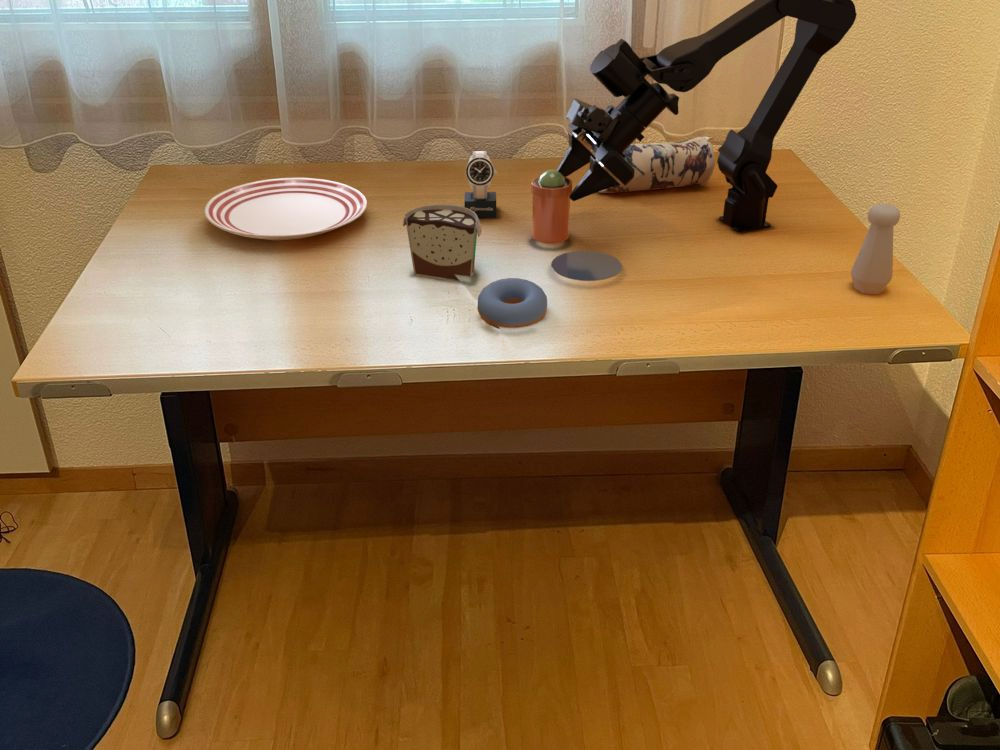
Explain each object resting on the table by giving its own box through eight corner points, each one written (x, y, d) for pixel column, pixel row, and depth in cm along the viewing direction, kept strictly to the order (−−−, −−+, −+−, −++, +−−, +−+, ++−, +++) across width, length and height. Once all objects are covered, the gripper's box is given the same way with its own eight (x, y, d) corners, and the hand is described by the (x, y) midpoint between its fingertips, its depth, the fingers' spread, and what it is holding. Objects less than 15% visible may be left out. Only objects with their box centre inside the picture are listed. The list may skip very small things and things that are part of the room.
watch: (464, 222, 170) (463, 161, 164) (465, 205, 177) (463, 145, 171) (497, 222, 170) (496, 160, 164) (496, 204, 177) (495, 145, 171)
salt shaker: (891, 298, 145) (909, 216, 138) (850, 295, 146) (867, 213, 139) (885, 281, 149) (903, 200, 143) (846, 278, 150) (862, 198, 144)
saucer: (601, 252, 159) (601, 245, 158) (634, 280, 150) (635, 273, 150) (539, 263, 155) (539, 257, 155) (569, 293, 147) (569, 285, 146)
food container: (493, 268, 154) (493, 208, 149) (480, 285, 149) (479, 223, 144) (421, 258, 157) (418, 199, 152) (405, 273, 153) (401, 213, 147)
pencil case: (602, 200, 178) (605, 148, 173) (589, 184, 185) (592, 133, 180) (716, 191, 182) (722, 140, 176) (699, 176, 189) (705, 125, 184)
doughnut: (524, 341, 134) (524, 312, 132) (463, 323, 139) (462, 294, 136) (559, 312, 141) (560, 284, 139) (501, 296, 146) (500, 268, 144)
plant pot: (568, 234, 165) (571, 163, 159) (571, 250, 160) (574, 177, 153) (529, 234, 165) (530, 163, 159) (531, 250, 160) (532, 177, 153)
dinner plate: (327, 181, 187) (326, 164, 185) (395, 229, 168) (394, 210, 166) (185, 212, 174) (182, 194, 173) (241, 267, 155) (238, 248, 153)
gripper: (582, 66, 158) (515, 139, 162) (618, 98, 142) (543, 177, 146) (626, 111, 164) (560, 180, 167) (665, 147, 148) (592, 222, 152)
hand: (563, 188), depth 158 cm, fingers open, 9 cm apart
